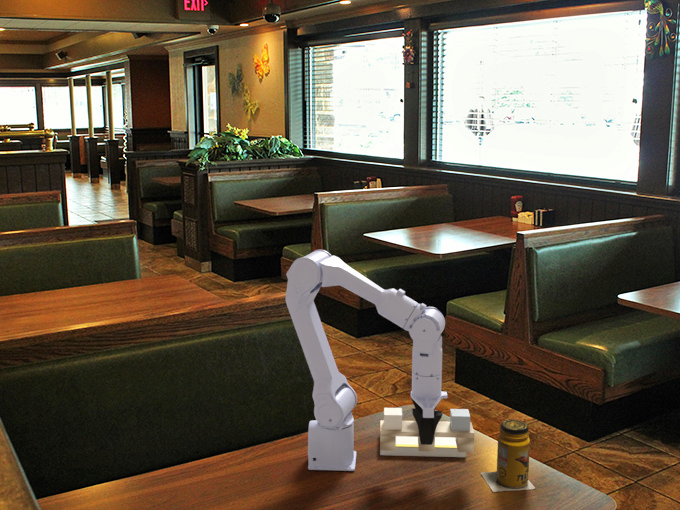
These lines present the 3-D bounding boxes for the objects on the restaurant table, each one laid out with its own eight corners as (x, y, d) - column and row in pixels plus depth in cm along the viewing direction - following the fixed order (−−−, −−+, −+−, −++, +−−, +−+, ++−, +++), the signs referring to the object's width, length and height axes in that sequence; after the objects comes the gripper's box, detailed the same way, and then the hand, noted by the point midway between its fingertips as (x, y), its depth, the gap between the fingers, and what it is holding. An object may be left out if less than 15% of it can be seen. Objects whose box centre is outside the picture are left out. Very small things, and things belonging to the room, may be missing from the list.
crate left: (384, 429, 136) (384, 414, 135) (384, 421, 139) (384, 407, 138) (402, 429, 135) (402, 415, 135) (401, 422, 139) (401, 408, 138)
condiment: (535, 489, 134) (538, 430, 132) (493, 492, 133) (495, 433, 130) (520, 470, 141) (523, 415, 139) (480, 474, 140) (482, 417, 138)
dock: (380, 455, 148) (380, 445, 147) (380, 434, 158) (380, 425, 157) (466, 457, 147) (466, 447, 146) (461, 436, 156) (461, 427, 156)
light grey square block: (451, 430, 135) (451, 416, 134) (450, 423, 138) (450, 408, 138) (469, 431, 135) (470, 416, 134) (467, 423, 138) (468, 409, 137)
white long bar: (380, 450, 136) (380, 431, 135) (380, 438, 141) (380, 420, 140) (473, 452, 134) (474, 433, 134) (470, 440, 139) (471, 421, 139)
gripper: (451, 386, 127) (449, 455, 130) (444, 359, 141) (443, 422, 144) (412, 385, 128) (411, 454, 130) (409, 358, 142) (408, 421, 145)
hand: (425, 437), depth 137 cm, fingers closed on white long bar, 5 cm apart
